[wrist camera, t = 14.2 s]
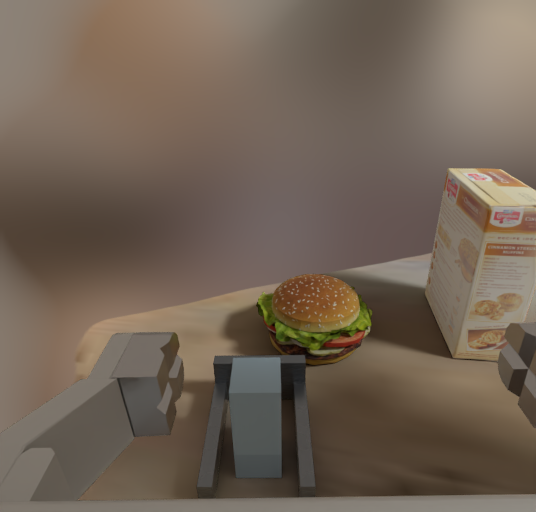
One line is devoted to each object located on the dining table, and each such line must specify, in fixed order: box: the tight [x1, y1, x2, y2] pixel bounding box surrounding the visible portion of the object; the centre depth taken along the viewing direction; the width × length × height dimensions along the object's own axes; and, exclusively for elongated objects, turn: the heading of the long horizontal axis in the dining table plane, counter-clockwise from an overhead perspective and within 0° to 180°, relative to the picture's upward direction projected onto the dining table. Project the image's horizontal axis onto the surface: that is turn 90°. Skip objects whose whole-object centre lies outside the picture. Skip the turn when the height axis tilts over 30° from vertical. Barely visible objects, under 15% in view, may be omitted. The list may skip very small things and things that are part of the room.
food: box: [256, 274, 372, 365], centre depth 51 cm, size 14×14×8 cm
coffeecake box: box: [425, 168, 536, 362], centre depth 50 cm, size 15×7×20 cm, turn 173°
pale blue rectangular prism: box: [229, 357, 282, 478], centre depth 35 cm, size 4×4×10 cm
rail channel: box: [197, 355, 316, 499], centre depth 37 cm, size 9×13×5 cm
